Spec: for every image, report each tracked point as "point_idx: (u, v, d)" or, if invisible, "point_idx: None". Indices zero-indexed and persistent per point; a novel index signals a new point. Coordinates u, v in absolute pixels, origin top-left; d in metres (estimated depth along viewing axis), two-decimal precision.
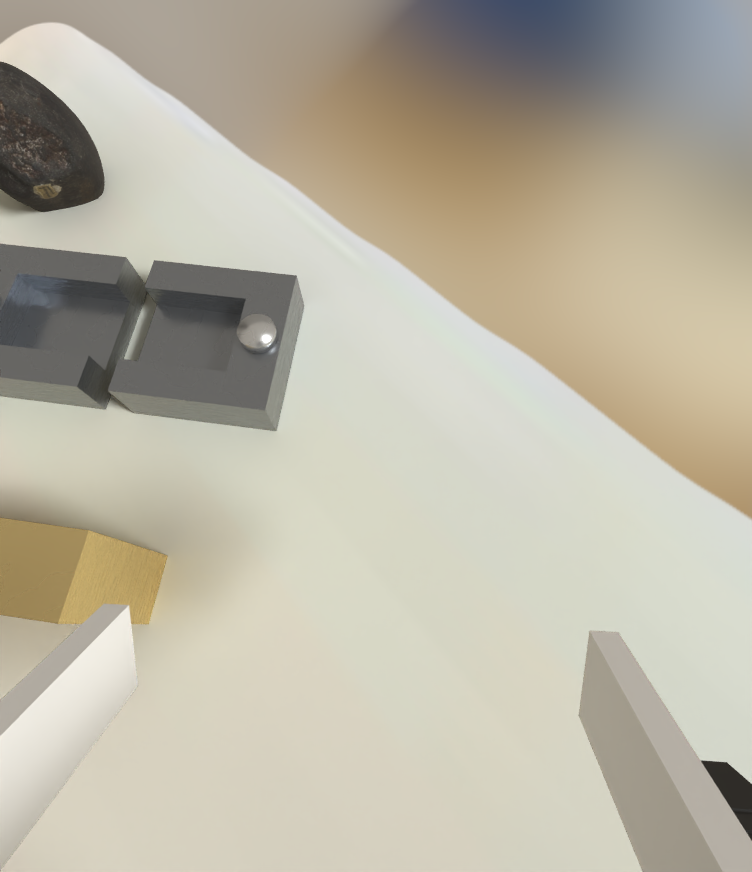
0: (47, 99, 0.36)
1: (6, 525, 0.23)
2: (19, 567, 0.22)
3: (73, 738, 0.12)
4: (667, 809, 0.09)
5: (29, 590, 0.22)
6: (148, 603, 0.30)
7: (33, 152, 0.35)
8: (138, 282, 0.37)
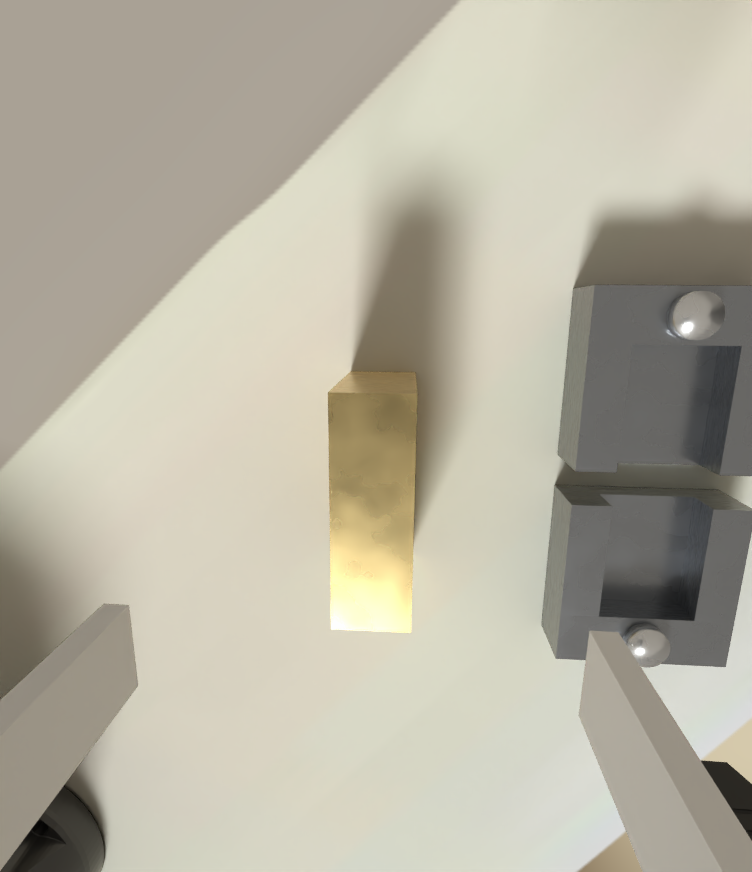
0: None
1: (406, 562, 0.24)
2: (371, 585, 0.25)
3: (74, 739, 0.12)
4: (667, 809, 0.09)
5: (353, 599, 0.25)
6: None
7: None
8: None
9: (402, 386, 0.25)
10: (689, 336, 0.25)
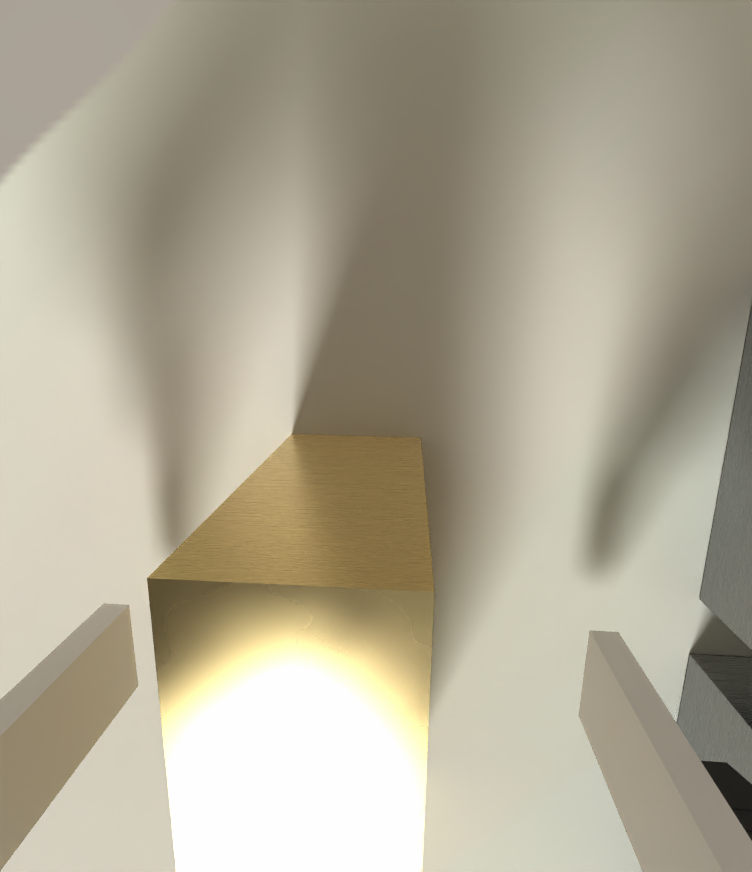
0: None
1: None
2: None
3: (73, 738, 0.12)
4: (667, 809, 0.09)
5: None
6: None
7: None
8: None
9: (389, 520, 0.09)
10: None
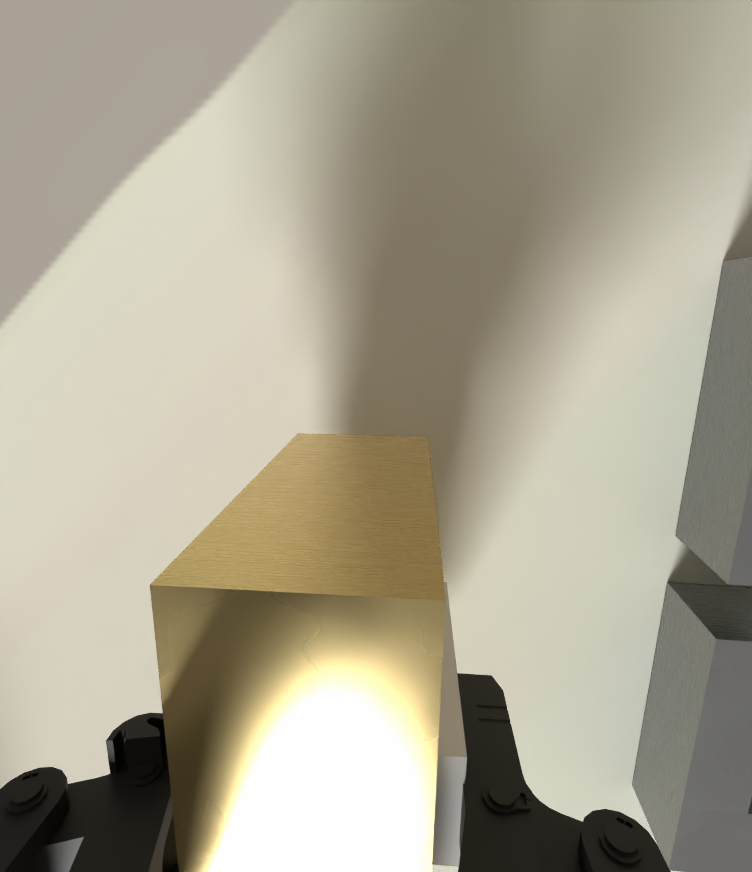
0: None
1: None
2: None
3: None
4: None
5: None
6: None
7: None
8: None
9: (398, 524, 0.09)
10: None
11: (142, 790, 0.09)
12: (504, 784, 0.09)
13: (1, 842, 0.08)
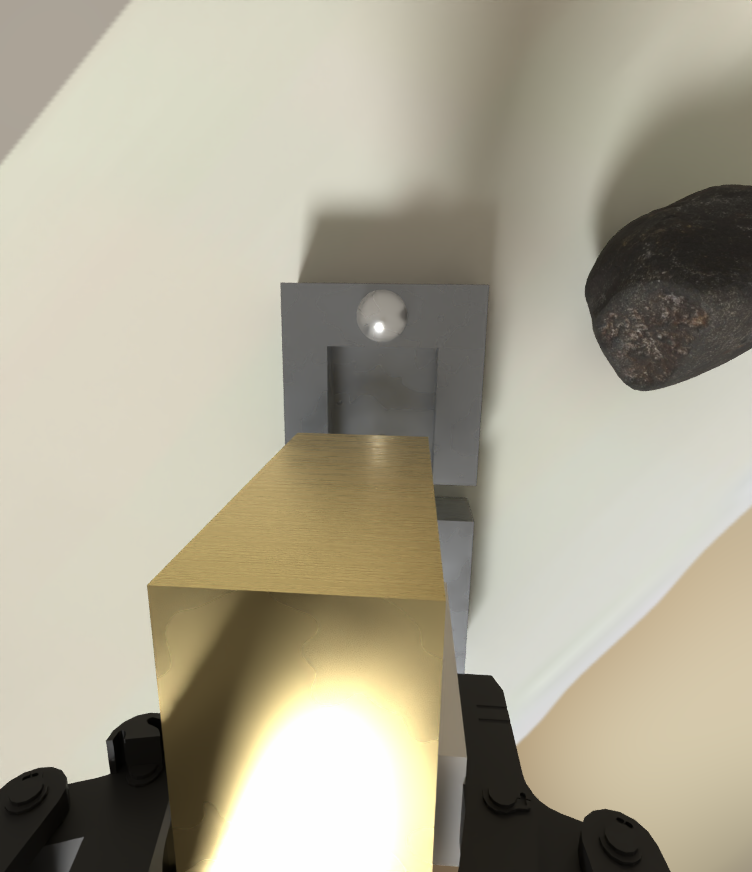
0: (751, 345, 0.21)
1: None
2: None
3: None
4: None
5: None
6: None
7: (637, 342, 0.22)
8: None
9: (397, 524, 0.09)
10: (374, 338, 0.24)
11: (142, 790, 0.09)
12: (504, 784, 0.09)
13: (1, 842, 0.08)
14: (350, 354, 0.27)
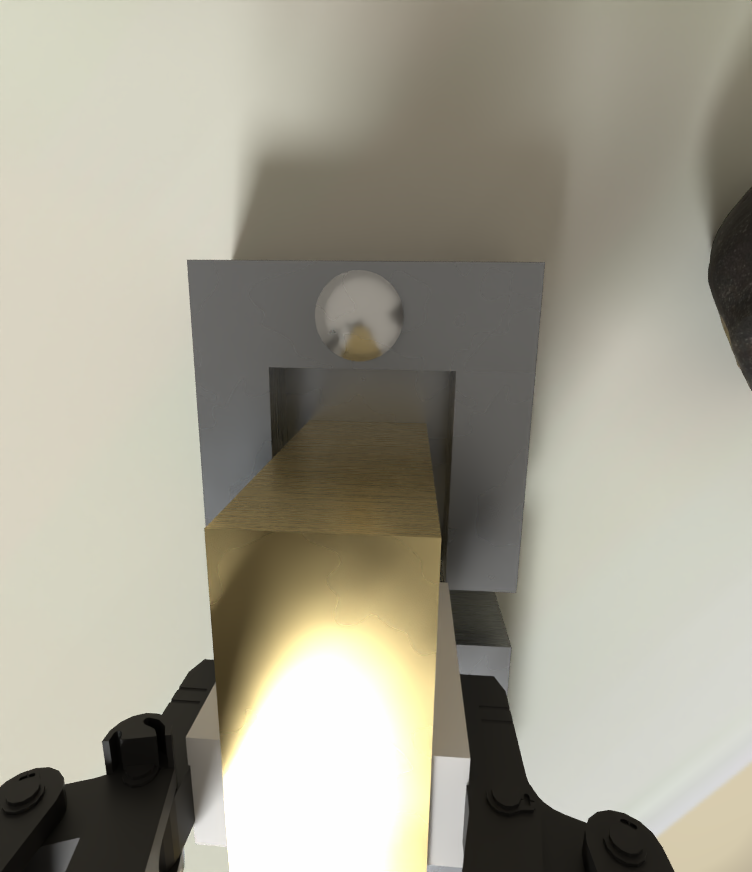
0: None
1: None
2: None
3: None
4: None
5: None
6: None
7: None
8: None
9: (401, 488, 0.11)
10: (346, 354, 0.14)
11: (138, 790, 0.09)
12: (508, 785, 0.09)
13: None
14: (312, 377, 0.17)
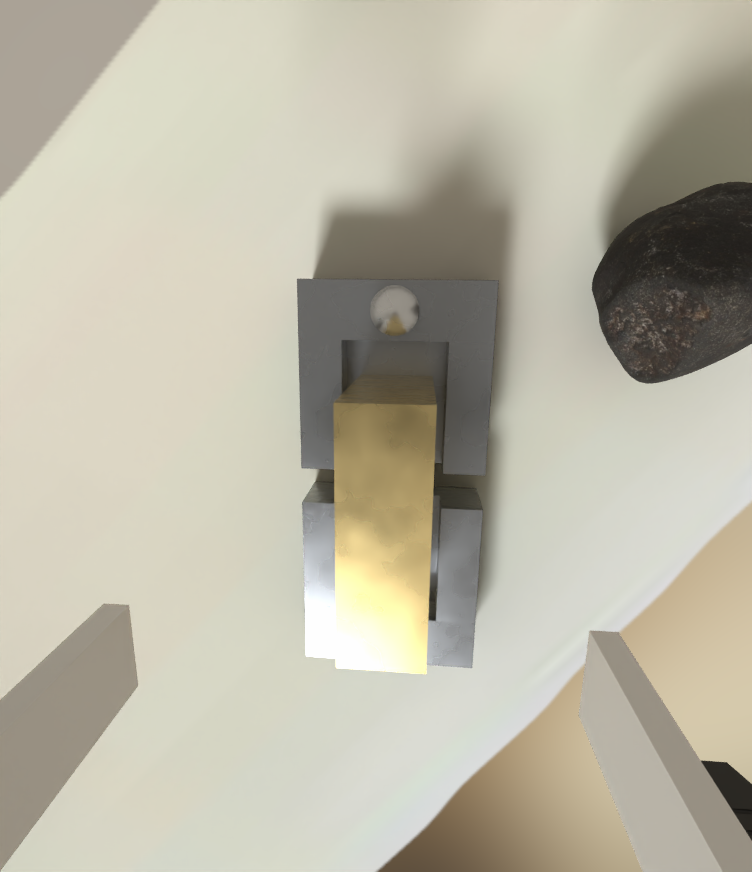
0: None
1: (422, 595, 0.21)
2: (381, 620, 0.22)
3: (73, 738, 0.12)
4: (667, 809, 0.09)
5: (361, 635, 0.22)
6: None
7: (642, 336, 0.22)
8: None
9: (418, 394, 0.22)
10: (387, 332, 0.25)
11: None
12: None
13: None
14: (363, 348, 0.28)
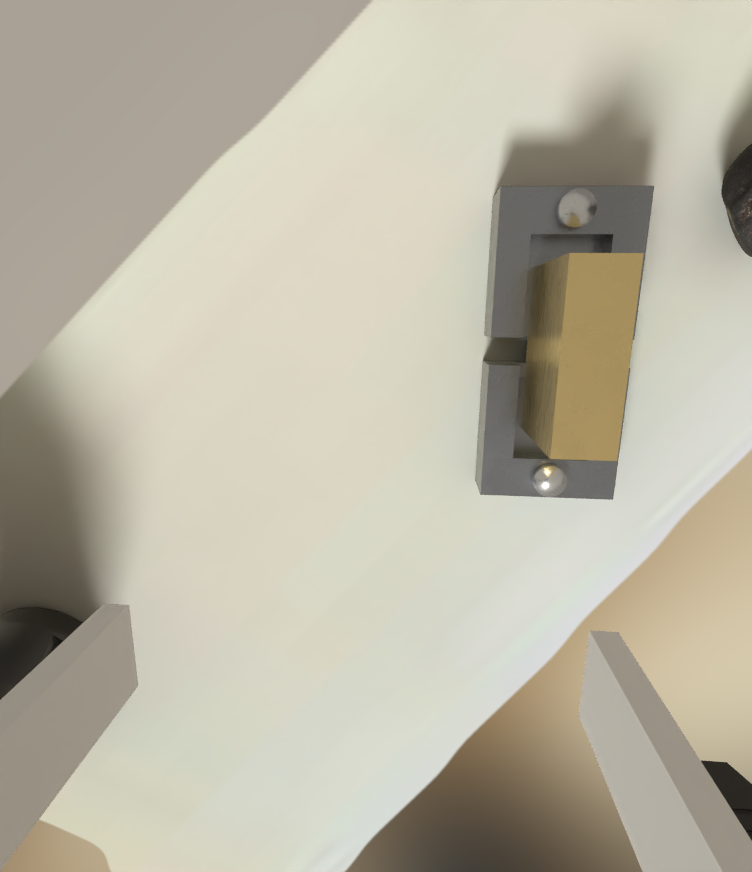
0: None
1: (620, 398, 0.30)
2: (588, 419, 0.30)
3: (74, 738, 0.12)
4: (667, 809, 0.09)
5: (571, 432, 0.31)
6: None
7: None
8: None
9: None
10: (571, 224, 0.34)
11: None
12: None
13: None
14: (537, 246, 0.37)
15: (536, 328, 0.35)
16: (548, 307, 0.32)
